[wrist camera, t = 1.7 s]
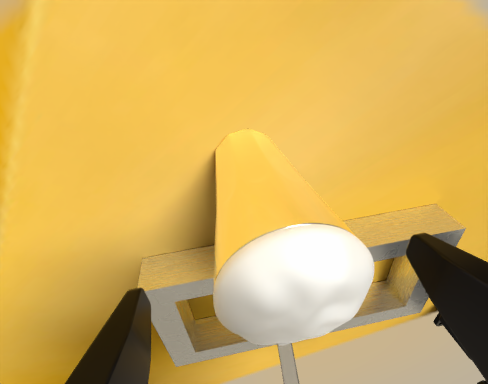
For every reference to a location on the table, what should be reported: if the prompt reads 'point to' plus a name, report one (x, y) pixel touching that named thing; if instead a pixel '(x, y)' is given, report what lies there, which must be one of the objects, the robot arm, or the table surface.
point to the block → (226, 343)
